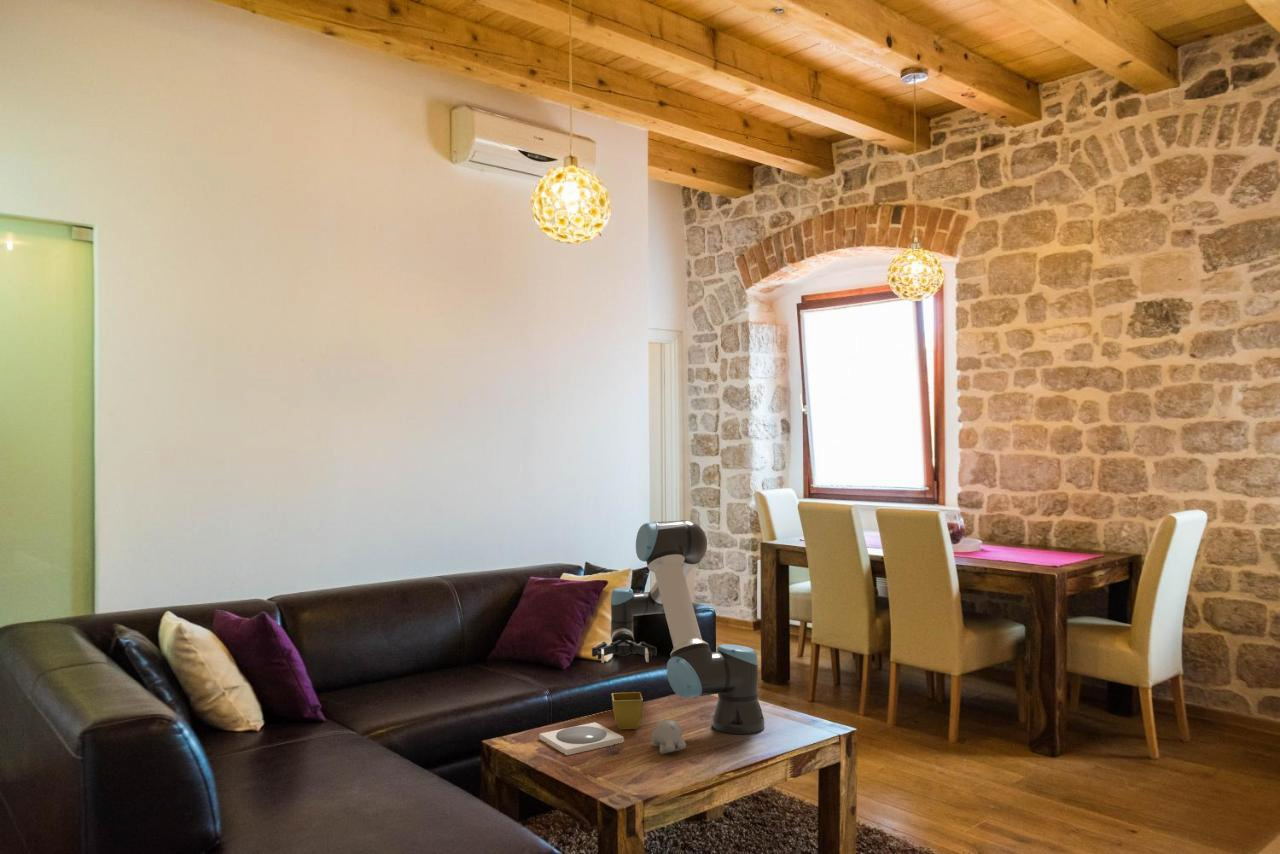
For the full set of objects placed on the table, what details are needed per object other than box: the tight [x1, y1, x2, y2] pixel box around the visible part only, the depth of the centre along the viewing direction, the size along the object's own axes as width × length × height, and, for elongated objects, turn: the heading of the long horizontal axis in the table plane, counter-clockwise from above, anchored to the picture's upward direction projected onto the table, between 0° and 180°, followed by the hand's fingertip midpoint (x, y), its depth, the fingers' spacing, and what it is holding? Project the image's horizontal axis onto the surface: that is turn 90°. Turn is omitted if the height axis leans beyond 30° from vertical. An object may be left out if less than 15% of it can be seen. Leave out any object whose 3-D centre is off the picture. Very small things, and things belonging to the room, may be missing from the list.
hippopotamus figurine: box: [651, 718, 687, 755], centre depth 241 cm, size 7×12×8 cm, turn 30°
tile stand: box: [539, 721, 625, 756], centre depth 249 cm, size 16×18×2 cm
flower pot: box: [611, 691, 644, 730], centre depth 261 cm, size 9×9×9 cm
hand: (625, 658), depth 271 cm, fingers open, 13 cm apart
